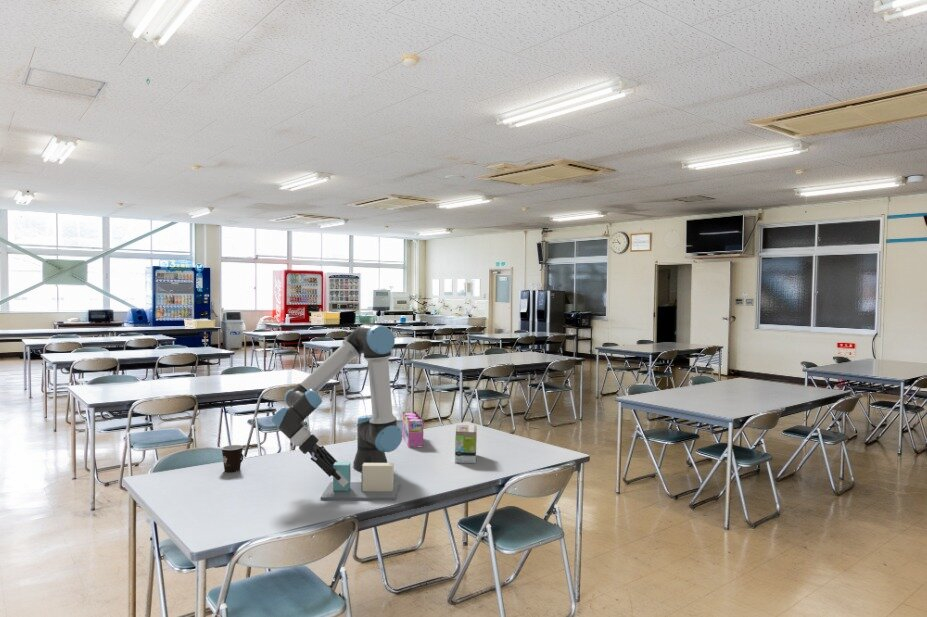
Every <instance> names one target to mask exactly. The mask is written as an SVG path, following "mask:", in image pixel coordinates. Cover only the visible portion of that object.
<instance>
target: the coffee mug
mask: <svg viewBox="0 0 927 617" xmlns="http://www.w3.org/2000/svg"><path fill="white" fill-rule="evenodd" d="M243 446H244V445H241V444H240V445H239V444H230V445H225V446H222V447H221V452H222V455H221V456H222V460H223V461H222V462H223V469H224V472H225V473H237V472H239V471H241V465H242V462H243V461H244V455H243V449H244V448H243ZM238 470H239V471H238ZM236 471H237V472H236Z"/></svg>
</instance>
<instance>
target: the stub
mask: <svg viewBox="0 0 927 617" xmlns="http://www.w3.org/2000/svg"><path fill="white" fill-rule="evenodd" d="M333 468H334V469H335V470H338V471H339V472H340V473H341V474H342V475H343V476H344V477H345V478H346V479H347V480H348V481H349V482H348V483H347V484H346V485H345V486H344V487H343V486H342V485H341V484H340V483H339V482H338V481H337V480H336V479H335V478H334V477H333V476H332V482H333V491H349V489H350V482H351V479H350V478H351V461H346V462H345V461H344V462H343V461H337V462H335V463H334V465H333Z"/></svg>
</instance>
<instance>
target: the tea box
mask: <svg viewBox="0 0 927 617" xmlns="http://www.w3.org/2000/svg"><path fill="white" fill-rule="evenodd" d="M477 432H478V429H477V425H473V424H472V425H471V424H470V425H468V424H456V428H455V437H454V438H455V441H454V442H455V443H454V463H457V464H475V463H476V461H477V438H478V437H477V436H478V435H477Z"/></svg>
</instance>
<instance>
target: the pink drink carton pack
mask: <svg viewBox="0 0 927 617" xmlns="http://www.w3.org/2000/svg"><path fill="white" fill-rule="evenodd" d="M401 432H402V440H404V441H403V442H405V444H406V446H407V447H408V448H419V447H418V446H423V447H424V419H423V418H422V417H421V416H420V415H419V413H418V412H417V411H413V412H405V411H404V412H403V411H402V430H401Z"/></svg>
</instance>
